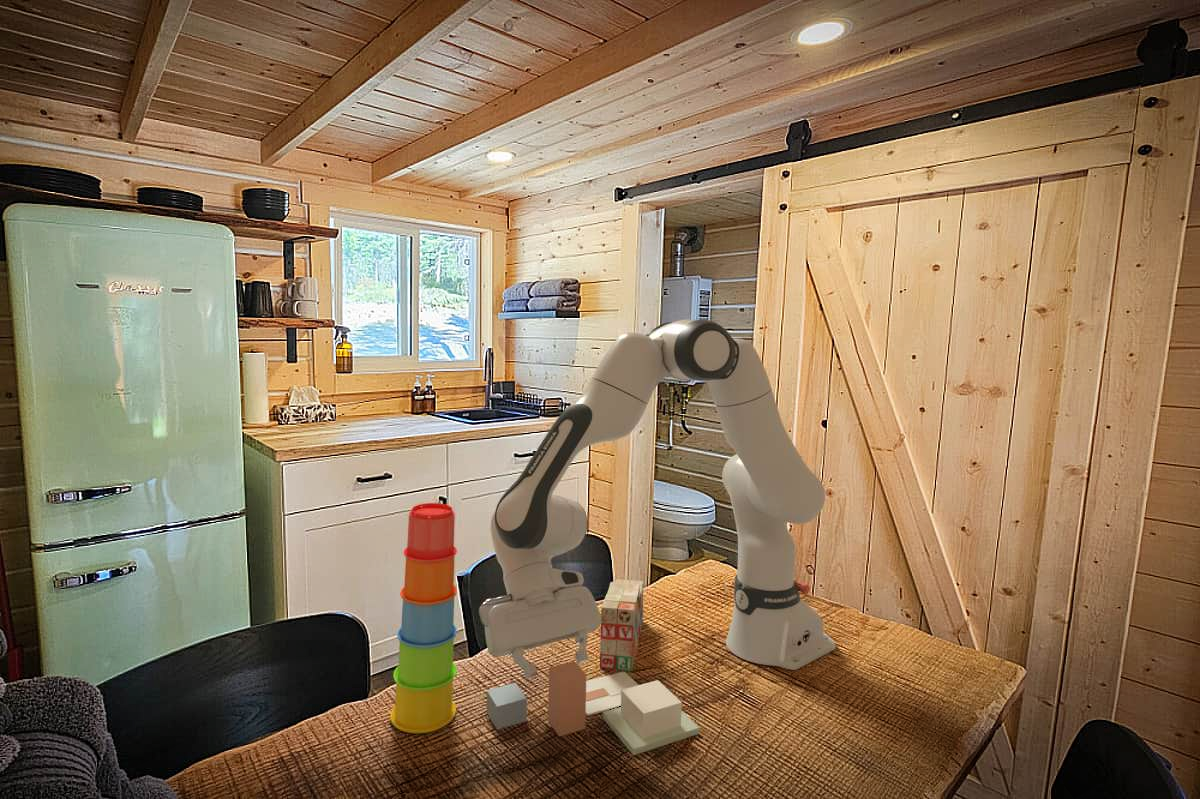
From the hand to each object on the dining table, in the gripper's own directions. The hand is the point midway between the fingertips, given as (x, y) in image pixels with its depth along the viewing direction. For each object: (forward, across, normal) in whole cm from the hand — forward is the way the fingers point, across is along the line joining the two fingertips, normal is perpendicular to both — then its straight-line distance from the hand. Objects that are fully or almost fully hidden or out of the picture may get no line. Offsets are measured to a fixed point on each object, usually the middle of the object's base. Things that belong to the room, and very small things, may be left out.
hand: (558, 669), depth 100 cm
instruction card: (+5, +10, +6) cm, 13 cm away
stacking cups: (-2, -19, +13) cm, 23 cm away
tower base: (+12, +12, -1) cm, 17 cm away
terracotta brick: (+8, 0, +4) cm, 8 cm away
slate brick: (+3, -7, +8) cm, 12 cm away
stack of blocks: (-5, +23, +16) cm, 29 cm away
